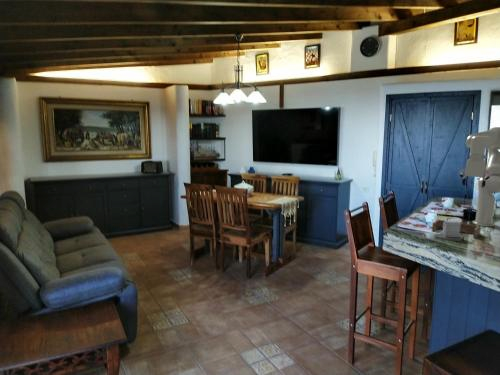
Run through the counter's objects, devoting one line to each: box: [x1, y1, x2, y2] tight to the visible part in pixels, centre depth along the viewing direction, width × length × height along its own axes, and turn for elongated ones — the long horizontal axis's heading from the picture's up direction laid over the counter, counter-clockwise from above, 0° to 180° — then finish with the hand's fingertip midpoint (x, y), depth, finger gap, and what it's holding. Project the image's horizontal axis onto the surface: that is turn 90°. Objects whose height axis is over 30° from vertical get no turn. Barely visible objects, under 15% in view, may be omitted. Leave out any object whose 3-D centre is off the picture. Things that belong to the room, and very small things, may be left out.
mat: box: [436, 231, 465, 242], centre depth 219 cm, size 12×12×1 cm
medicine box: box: [442, 220, 462, 237], centre depth 218 cm, size 8×4×9 cm, turn 84°
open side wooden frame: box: [431, 219, 480, 239], centre depth 229 cm, size 12×23×5 cm, turn 51°
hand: (473, 186), depth 225 cm, fingers open, 9 cm apart
